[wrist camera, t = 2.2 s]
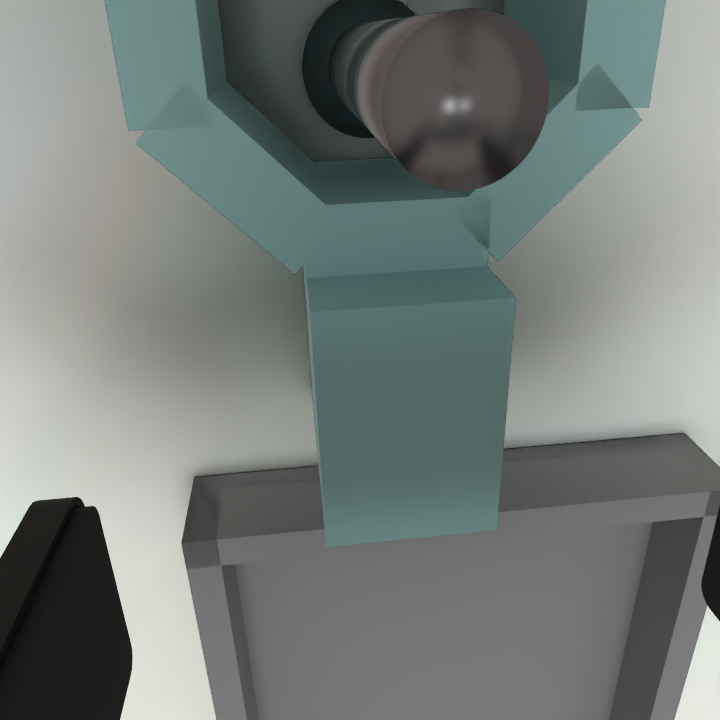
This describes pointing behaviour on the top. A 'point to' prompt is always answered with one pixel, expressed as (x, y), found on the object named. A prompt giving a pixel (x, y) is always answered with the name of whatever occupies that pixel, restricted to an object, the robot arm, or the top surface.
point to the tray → (461, 594)
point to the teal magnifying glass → (390, 249)
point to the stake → (429, 87)
